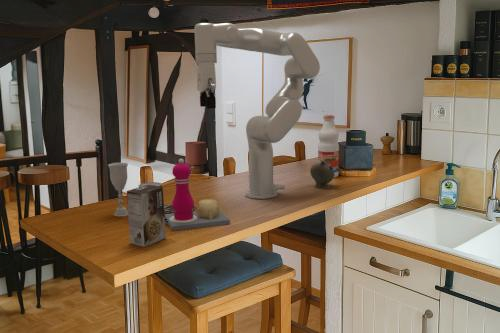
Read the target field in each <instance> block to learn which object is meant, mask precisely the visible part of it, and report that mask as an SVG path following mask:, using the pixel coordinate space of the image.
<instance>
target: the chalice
mask: <svg viewBox="0 0 500 333" xmlns="http://www.w3.org/2000/svg"><path fill="white" fill-rule="evenodd" d="M128 165H129V163H127V162H112V163H110V164H109V163H108V164H107V166H108V168H109V178H110V181H111V184H112V186H113V187H114V189H115V191H118V195H117V197H118V201H117V202H118V203H119V206H118V207H117V208H116V209H115V212H114V214H113V216H114V217H126V216H128V209H127V208H126V207H125V206H123V202H124V200H123V199H122V197H123V195H122V191H124V189H125V186H126V184H127V181H128V168H127V167H128Z"/></svg>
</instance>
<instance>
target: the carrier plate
mask: <svg viewBox="0 0 500 333" xmlns="http://www.w3.org/2000/svg"><path fill="white" fill-rule="evenodd" d="M192 212H193V218H192V219H190V220H184V221H180V220H176V219H175V218H174V213H170V214H169V213H166V214H164V215H165V217H166V218H167V220H168V223H167V225H168V226H169V228H170V229H171V231H172V232H175V231H185V230H192V229H193V230H194V229H200V228H208V227H209V228H210V227H219V226H226V225H227V226H228V225H231V219H229V217H228V216H226V214H224V213H223V212H222V210H221V209H220V206H219V205H218V201H217V200H216V199H212V198H211V199H210V198H208V199H206V198H205V199H201V200H199V201H198V207H197V208H196V210H195V211H192Z"/></svg>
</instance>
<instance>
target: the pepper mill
mask: <svg viewBox="0 0 500 333" xmlns="http://www.w3.org/2000/svg"><path fill="white" fill-rule="evenodd" d="M171 171H172V173H171V174H172V175H173V177H174V184H175V194H174V197H173V199H172V203H171V204H172V205H171V207H172V210H174V213H173V214H174V218H175V219H176V220H180V221H184V220H190V219H192V218H193V212H194V211H192V210H194V208H195V202H194V199H193V196H192V194H191V192H190V186H189V183H190V182H191V181H190V180H191V179H190V175H191V174H192V173H191V172H192V168H191V167H190V165H189V164H188V163H185V159H183V158H179V159H178V163H176V164H175V165H174V166H173V168H172V170H171Z"/></svg>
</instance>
